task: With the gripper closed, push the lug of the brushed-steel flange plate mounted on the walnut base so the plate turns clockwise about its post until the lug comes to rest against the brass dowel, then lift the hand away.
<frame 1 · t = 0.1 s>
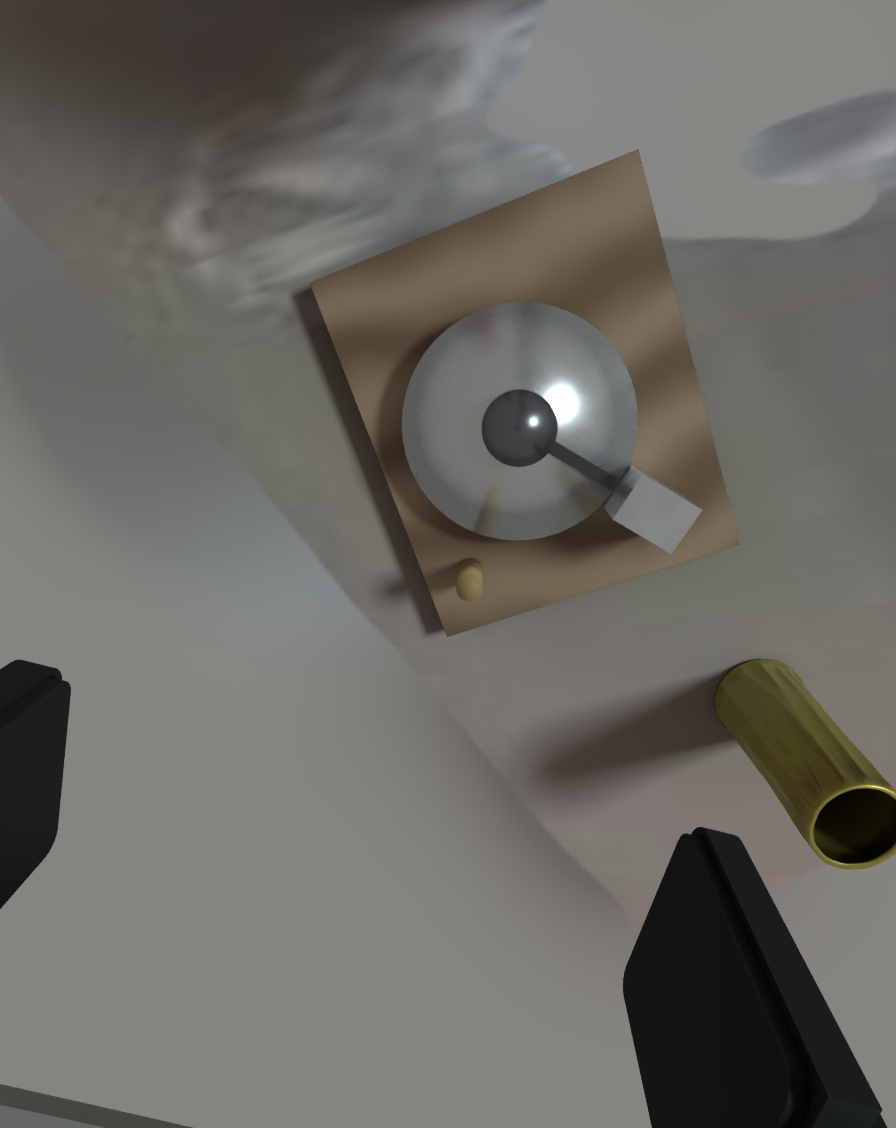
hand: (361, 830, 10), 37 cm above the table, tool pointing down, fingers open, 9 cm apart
base plate: (531, 416, 45), on the table
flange: (548, 446, 41), point 4 cm above the table, hinge at 60.0°
vase: (756, 696, 50), on the table
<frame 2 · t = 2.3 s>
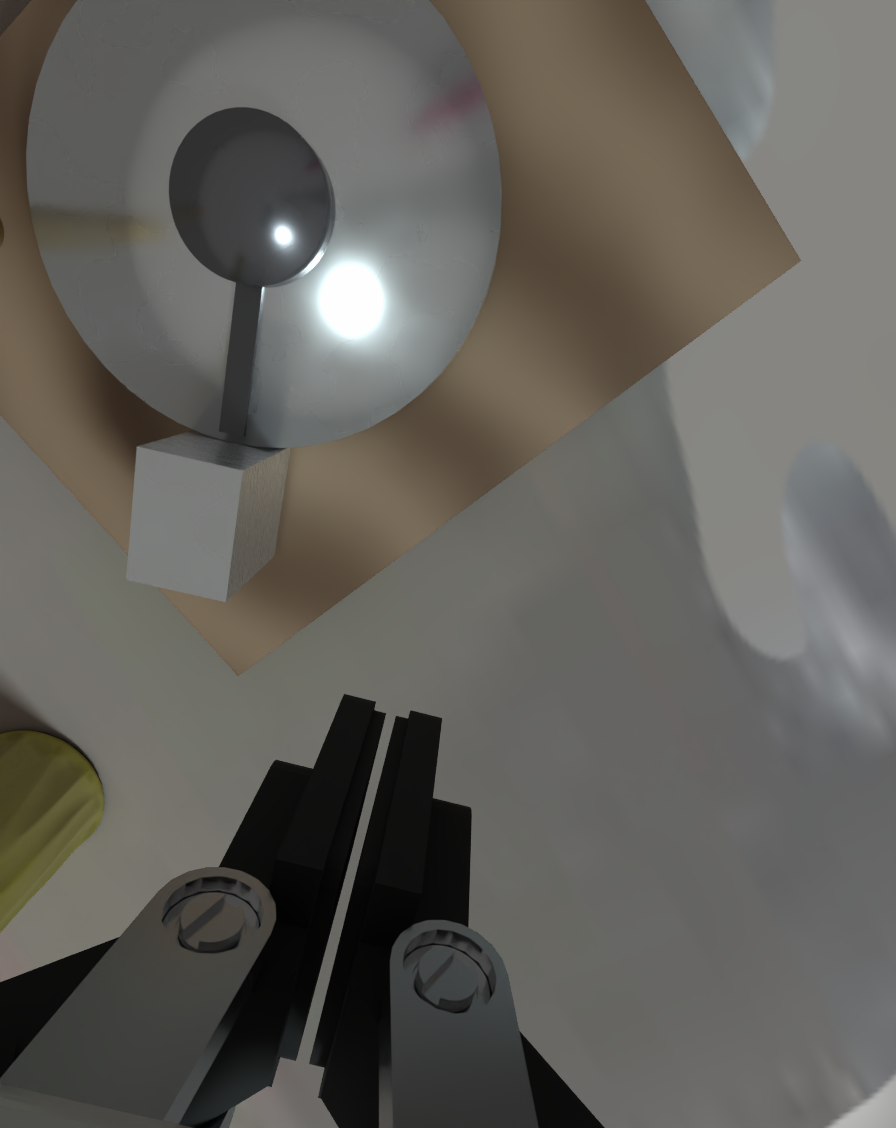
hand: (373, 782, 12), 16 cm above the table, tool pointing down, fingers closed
base plate: (311, 250, 24), on the table
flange: (241, 276, 20), point 4 cm above the table, hinge at 60.0°
vase: (42, 785, 31), on the table
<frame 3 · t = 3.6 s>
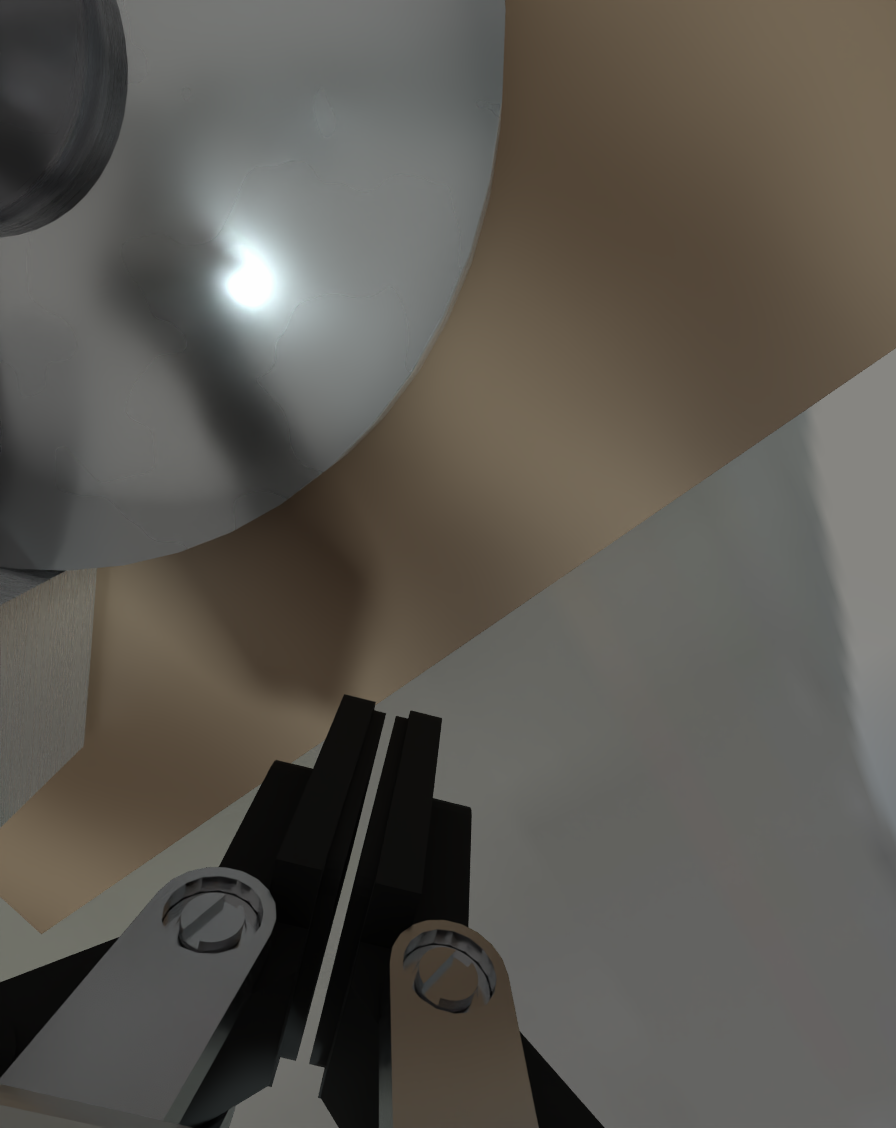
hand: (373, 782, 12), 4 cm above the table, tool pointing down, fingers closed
base plate: (135, 179, 12), on the table
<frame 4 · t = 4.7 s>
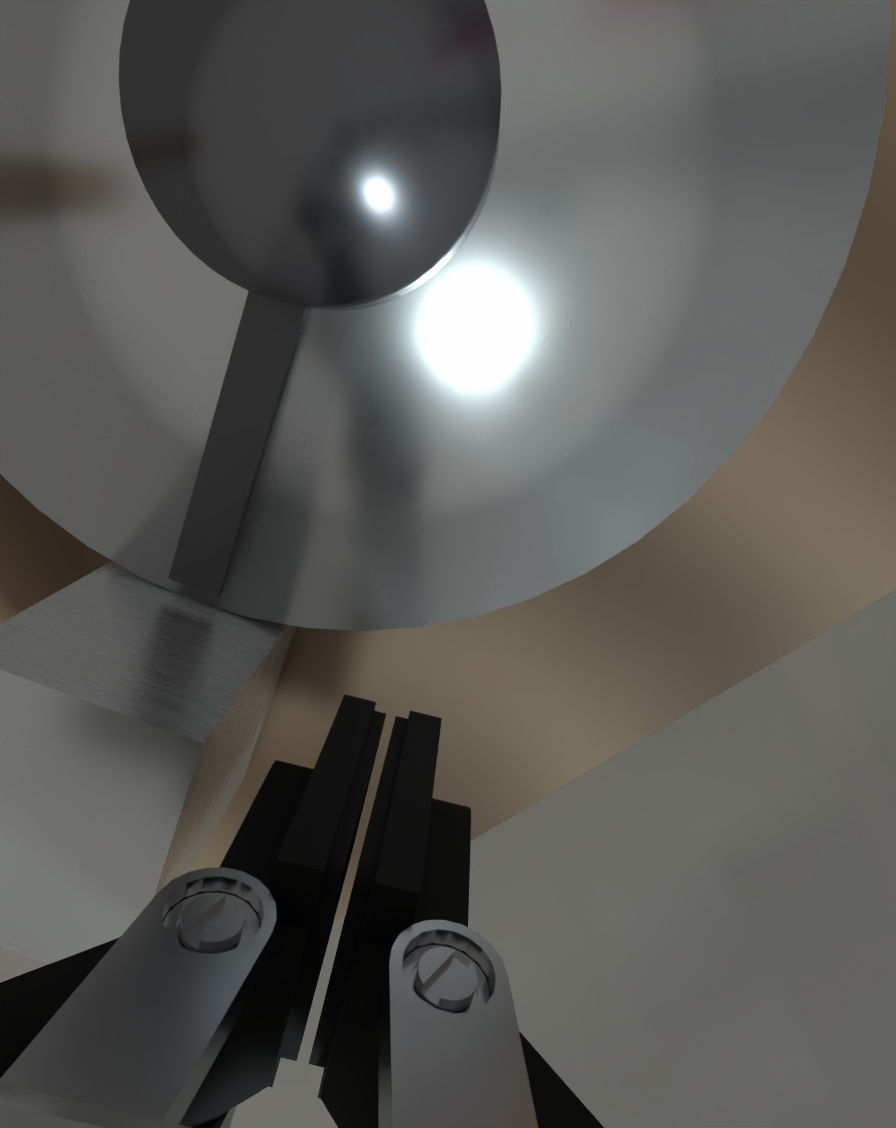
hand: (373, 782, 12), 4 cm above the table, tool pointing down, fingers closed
base plate: (405, 237, 13), on the table
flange: (266, 279, 9), point 4 cm above the table, hinge at 52.0°, touching gripper
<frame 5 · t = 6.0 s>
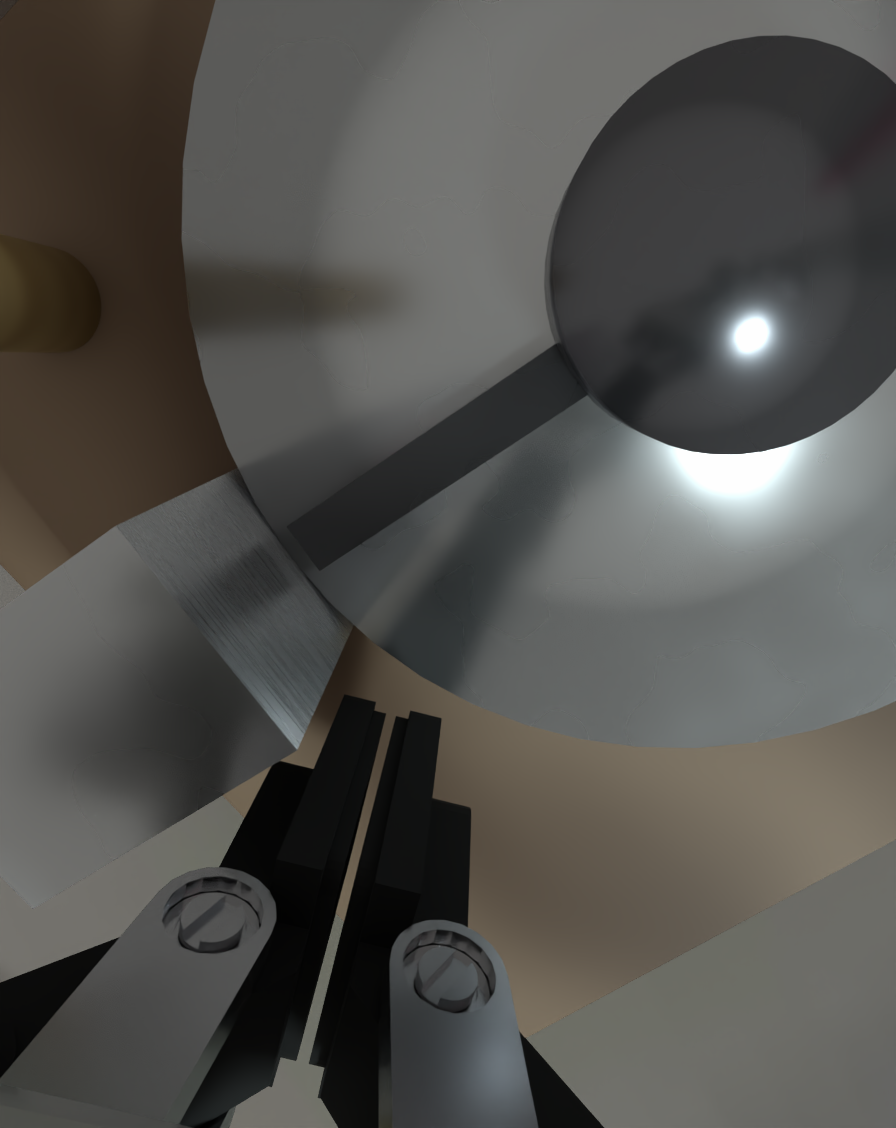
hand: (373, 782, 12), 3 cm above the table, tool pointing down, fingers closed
base plate: (683, 341, 13), on the table
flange: (591, 362, 9), point 4 cm above the table, hinge at 16.3°, touching gripper
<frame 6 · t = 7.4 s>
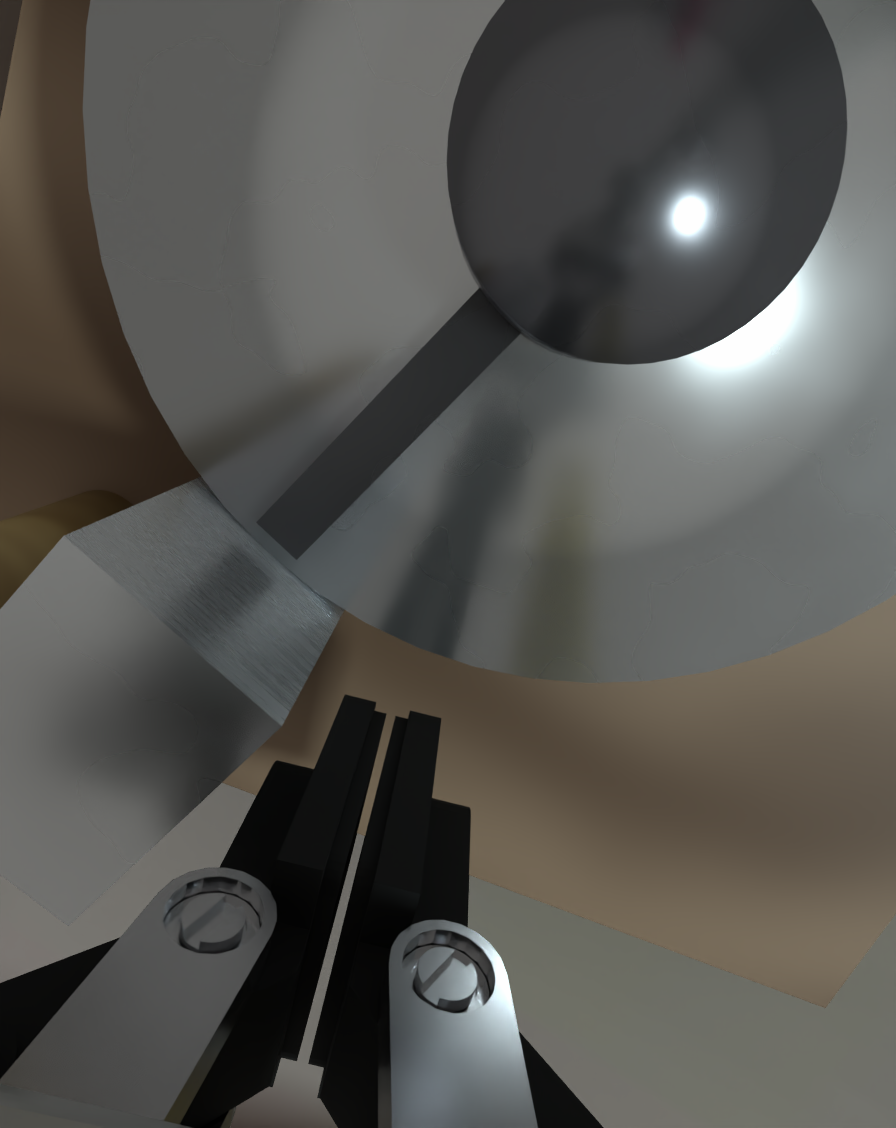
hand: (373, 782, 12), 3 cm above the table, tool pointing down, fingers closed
base plate: (638, 252, 12), on the table
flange: (511, 297, 9), point 4 cm above the table, hinge at -3.0°, touching base plate, gripper
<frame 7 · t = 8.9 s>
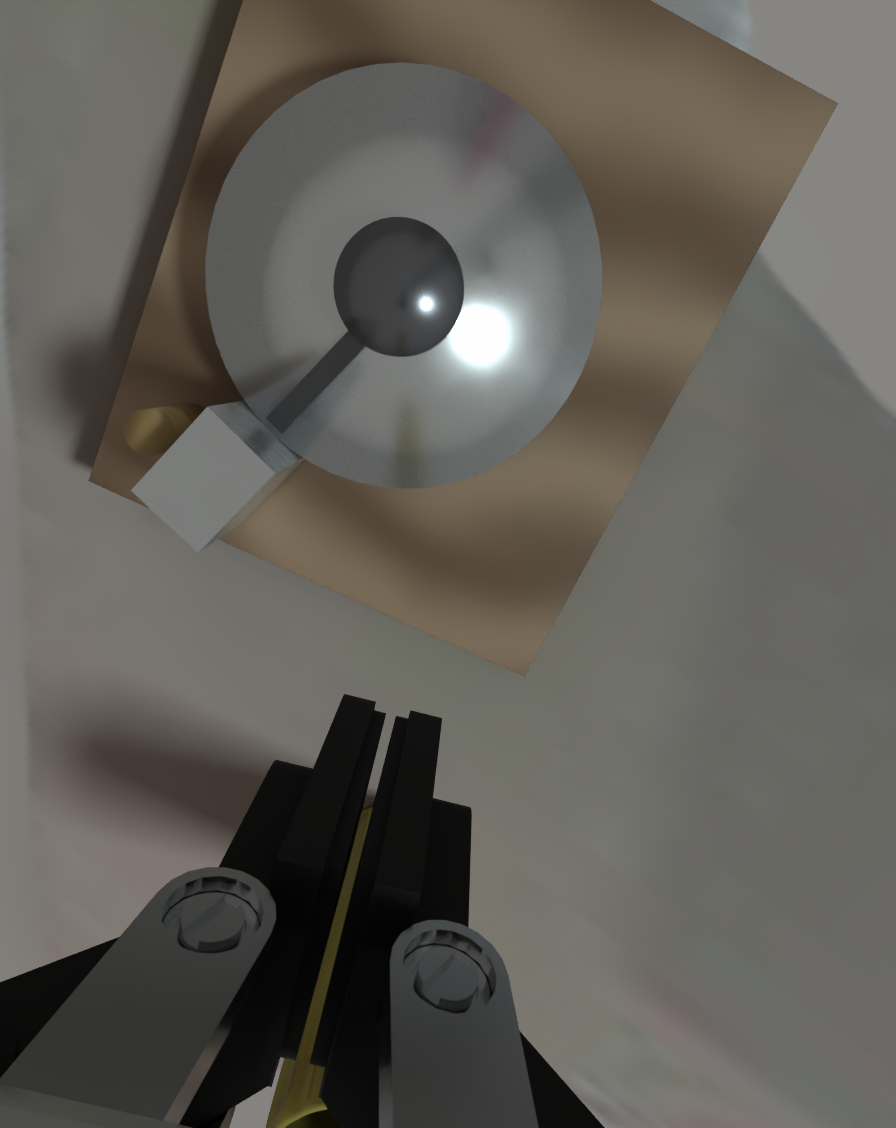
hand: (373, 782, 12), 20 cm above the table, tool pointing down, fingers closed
base plate: (433, 311, 28), on the table
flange: (358, 332, 24), point 4 cm above the table, hinge at -1.1°
vase: (396, 851, 35), on the table
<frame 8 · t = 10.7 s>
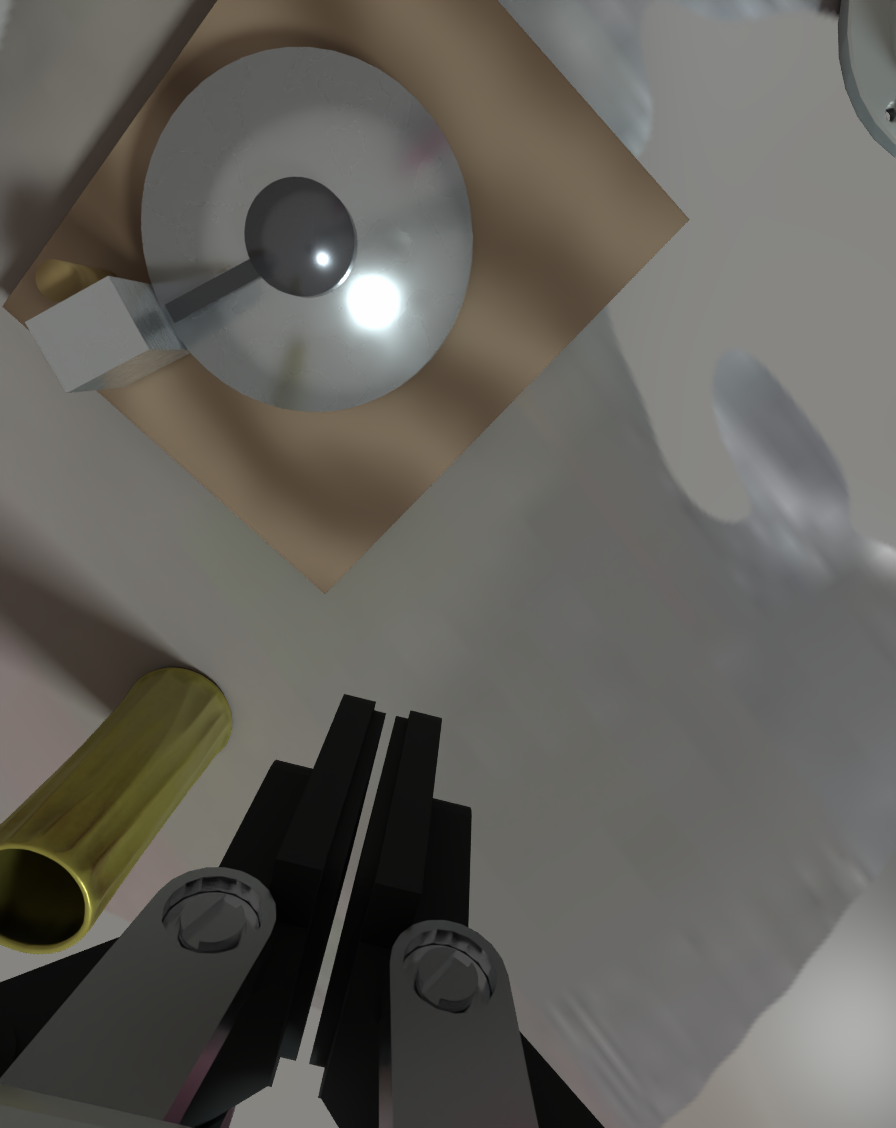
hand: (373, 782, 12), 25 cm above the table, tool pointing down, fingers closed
base plate: (338, 268, 33), on the table
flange: (257, 261, 29), point 4 cm above the table, hinge at -1.1°
vase: (182, 712, 40), on the table
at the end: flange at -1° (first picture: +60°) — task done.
